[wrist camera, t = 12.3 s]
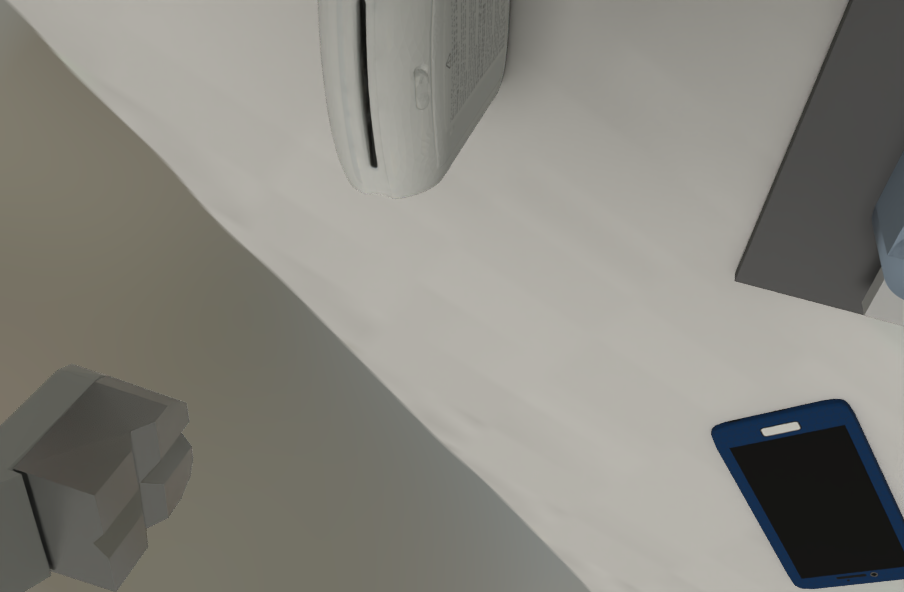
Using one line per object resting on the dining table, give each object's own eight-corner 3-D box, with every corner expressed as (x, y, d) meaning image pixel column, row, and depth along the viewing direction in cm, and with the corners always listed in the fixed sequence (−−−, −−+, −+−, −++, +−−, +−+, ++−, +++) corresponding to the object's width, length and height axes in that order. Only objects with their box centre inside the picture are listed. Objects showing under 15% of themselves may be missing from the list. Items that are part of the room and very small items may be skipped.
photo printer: (415, -166, 33) (276, -102, 23) (522, -161, 32) (423, -93, 22) (421, 85, 39) (313, 216, 29) (511, 95, 38) (429, 234, 28)
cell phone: (845, 390, 42) (847, 400, 42) (927, 567, 48) (929, 578, 47) (706, 421, 46) (705, 430, 46) (796, 582, 51) (796, 592, 51)
